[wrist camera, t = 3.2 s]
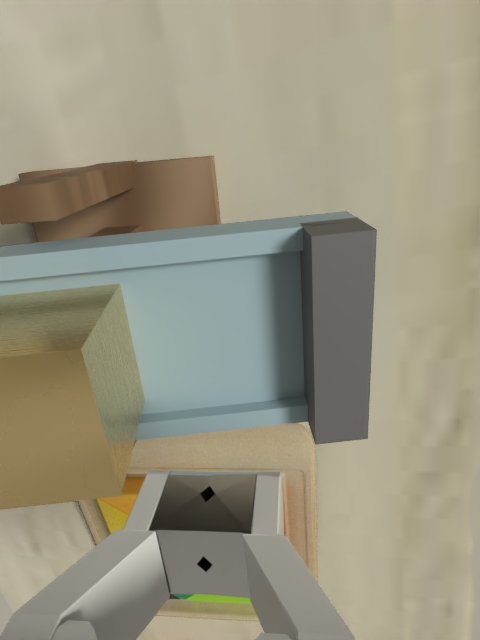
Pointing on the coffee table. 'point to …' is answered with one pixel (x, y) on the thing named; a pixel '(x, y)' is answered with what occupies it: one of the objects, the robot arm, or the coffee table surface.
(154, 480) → the robot arm
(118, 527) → the wooden puzzle
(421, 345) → the coffee table surface
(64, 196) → the pivot stand
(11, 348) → the block
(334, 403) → the beam
